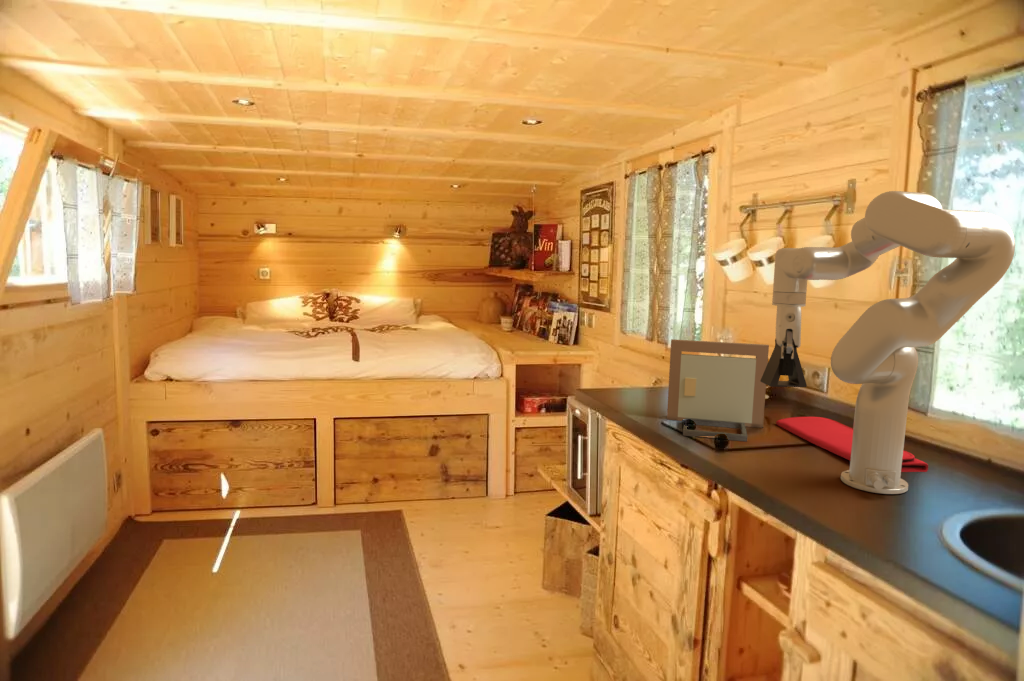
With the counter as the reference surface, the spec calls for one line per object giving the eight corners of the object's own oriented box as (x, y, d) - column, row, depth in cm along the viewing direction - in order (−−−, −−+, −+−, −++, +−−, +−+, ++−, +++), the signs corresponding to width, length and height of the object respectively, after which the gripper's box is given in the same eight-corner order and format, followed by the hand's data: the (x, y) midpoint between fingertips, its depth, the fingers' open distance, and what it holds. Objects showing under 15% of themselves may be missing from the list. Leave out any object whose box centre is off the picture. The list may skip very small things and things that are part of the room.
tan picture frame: (762, 428, 187) (769, 345, 183) (666, 419, 194) (671, 340, 190) (761, 424, 191) (767, 343, 188) (667, 416, 198) (671, 338, 195)
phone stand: (796, 382, 169) (799, 335, 167) (806, 387, 163) (810, 337, 161) (760, 382, 169) (763, 334, 167) (769, 386, 163) (773, 337, 161)
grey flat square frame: (747, 441, 173) (747, 435, 173) (682, 435, 177) (683, 430, 177) (744, 428, 186) (744, 422, 186) (684, 422, 191) (684, 417, 191)
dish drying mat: (827, 426, 193) (828, 413, 192) (930, 473, 152) (932, 457, 152) (774, 426, 191) (775, 413, 190) (864, 475, 150) (866, 458, 150)
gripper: (811, 302, 154) (805, 380, 156) (801, 298, 170) (795, 368, 173) (775, 301, 156) (770, 378, 158) (769, 297, 173) (764, 366, 175)
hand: (784, 372), depth 165 cm, fingers closed on phone stand, 6 cm apart
